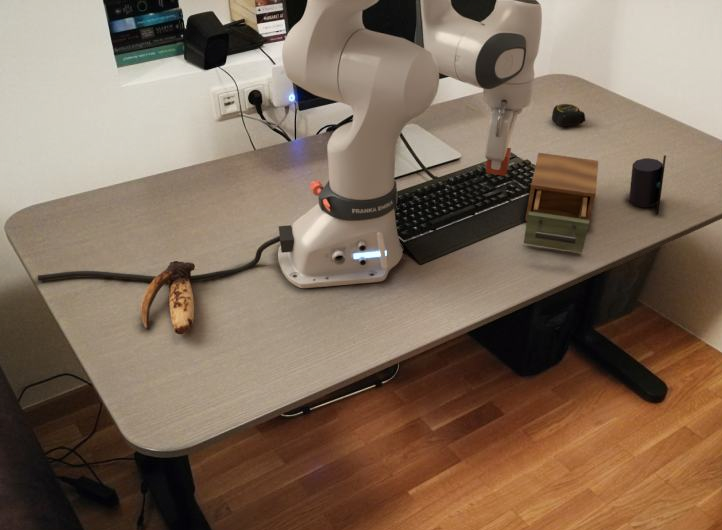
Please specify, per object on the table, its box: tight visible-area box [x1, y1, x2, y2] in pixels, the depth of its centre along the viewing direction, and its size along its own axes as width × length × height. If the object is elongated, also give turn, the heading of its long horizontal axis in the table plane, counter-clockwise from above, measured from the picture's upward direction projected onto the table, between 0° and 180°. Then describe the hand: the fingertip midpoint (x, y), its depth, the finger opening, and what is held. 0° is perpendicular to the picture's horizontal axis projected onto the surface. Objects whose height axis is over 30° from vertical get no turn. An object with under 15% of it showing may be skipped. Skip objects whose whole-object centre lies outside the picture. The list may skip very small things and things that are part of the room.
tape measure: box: [551, 103, 586, 127], centre depth 168 cm, size 7×7×4 cm
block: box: [485, 147, 512, 177], centre depth 133 cm, size 4×4×4 cm
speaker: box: [628, 154, 667, 215], centre depth 138 cm, size 8×6×10 cm
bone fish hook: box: [140, 260, 196, 336], centre depth 111 cm, size 9×5×18 cm
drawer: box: [523, 189, 590, 253], centre depth 127 cm, size 18×11×6 cm, turn 167°
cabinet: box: [524, 152, 599, 222], centre depth 136 cm, size 14×12×8 cm
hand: (497, 161), depth 133 cm, fingers closed on block, 4 cm apart
